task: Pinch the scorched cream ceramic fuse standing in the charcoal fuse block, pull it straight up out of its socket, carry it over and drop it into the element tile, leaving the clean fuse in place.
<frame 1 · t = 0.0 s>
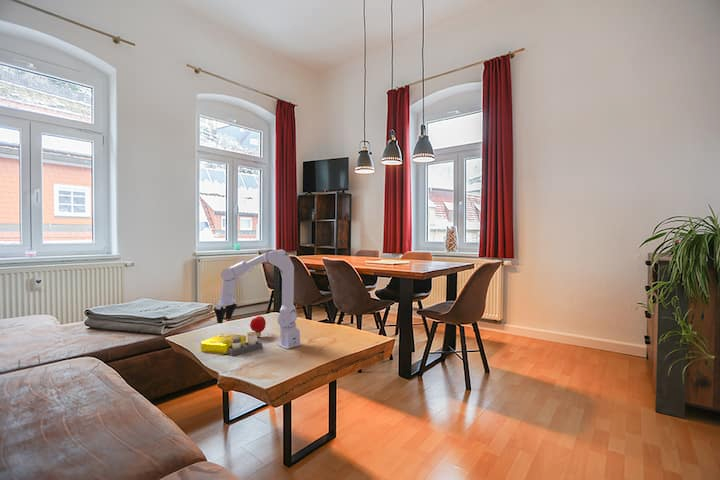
hand: (224, 320, 169), 11 cm above the table, tool pointing down, fingers open, 7 cm apart
light bulb: (258, 337, 177), on the table
element tile: (224, 348, 163), on the table
blown fuse: (236, 352, 156), resting in fuse block
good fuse: (252, 348, 160), resting in fuse block
fuse block: (244, 350, 158), on the table
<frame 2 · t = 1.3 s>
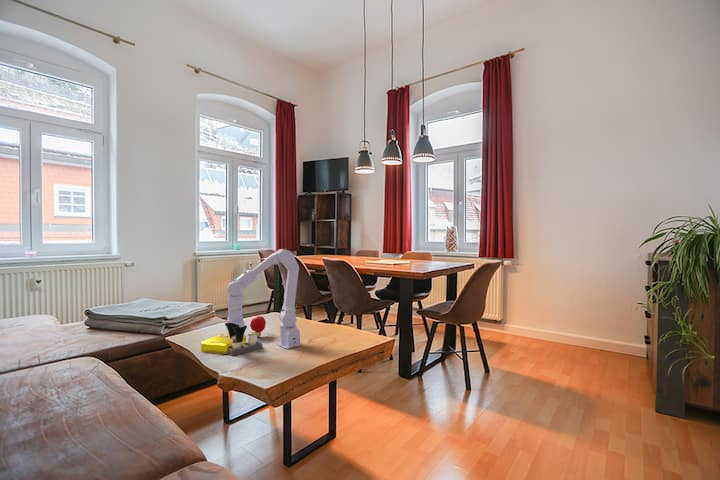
hand: (236, 340, 155), 5 cm above the table, tool pointing down, fingers open, 7 cm apart
nothing on the table moved.
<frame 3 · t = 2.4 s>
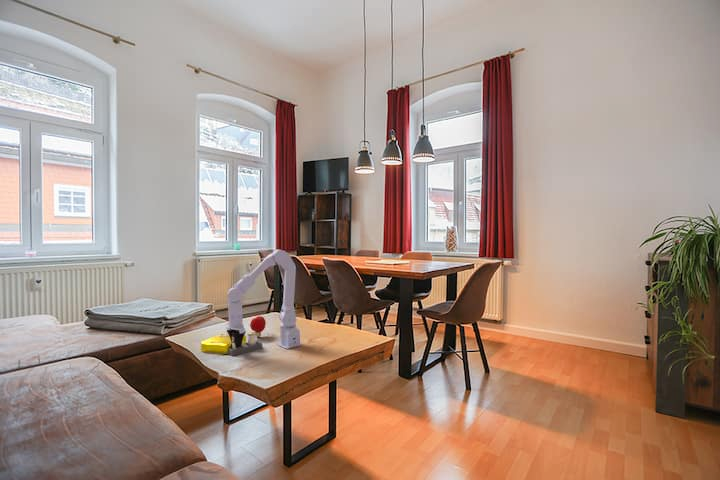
hand: (236, 346, 156), 3 cm above the table, tool pointing down, fingers closed on blown fuse, 4 cm apart
blown fuse: (236, 352, 156), resting in fuse block, touching gripper
everything else where it was.
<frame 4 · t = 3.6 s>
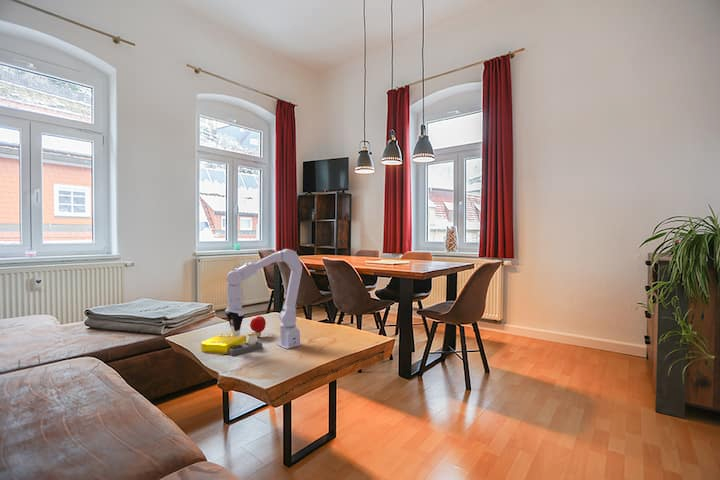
hand: (235, 329, 156), 10 cm above the table, tool pointing down, fingers closed on blown fuse, 4 cm apart
blown fuse: (235, 335, 156), point 7 cm above the table, touching gripper
everything else where it was.
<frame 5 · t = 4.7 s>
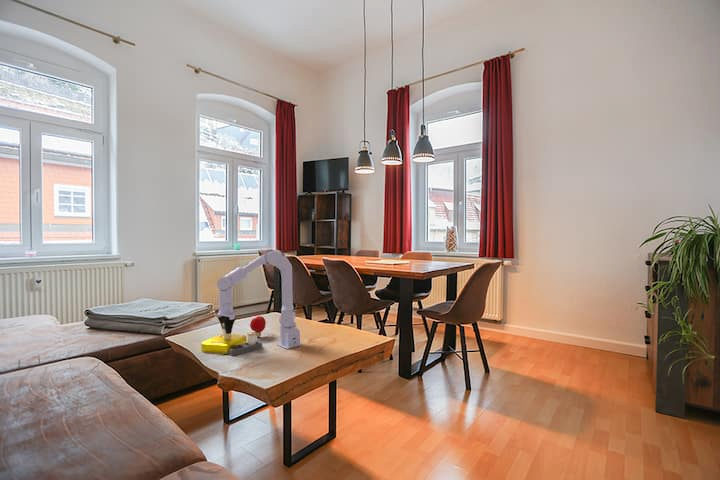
hand: (227, 332, 162), 7 cm above the table, tool pointing down, fingers closed on blown fuse, 4 cm apart
element tile: (224, 348, 163), on the table, touching blown fuse
blown fuse: (227, 338, 162), point 4 cm above the table, touching element tile, gripper
everything else where it was.
when the fingers open (6 cm above the table, at t = 5.2 s): blown fuse stays where it is, resting on element tile.
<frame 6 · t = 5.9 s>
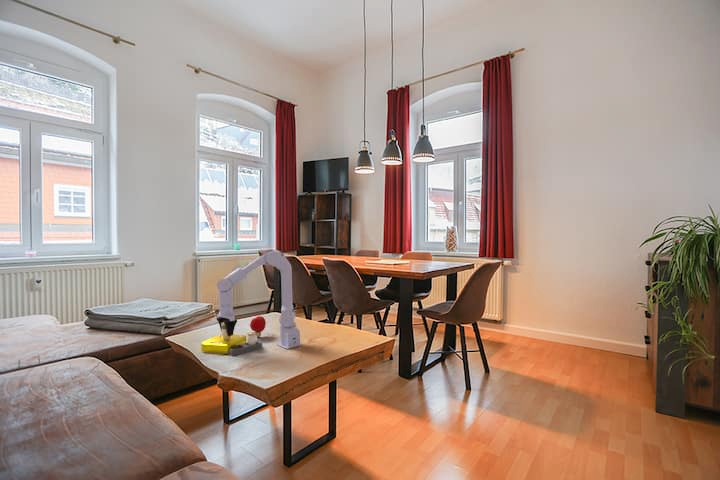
hand: (227, 333, 162), 6 cm above the table, tool pointing down, fingers open, 7 cm apart
blown fuse: (226, 338, 162), point 4 cm above the table, touching element tile
everything else where it was.
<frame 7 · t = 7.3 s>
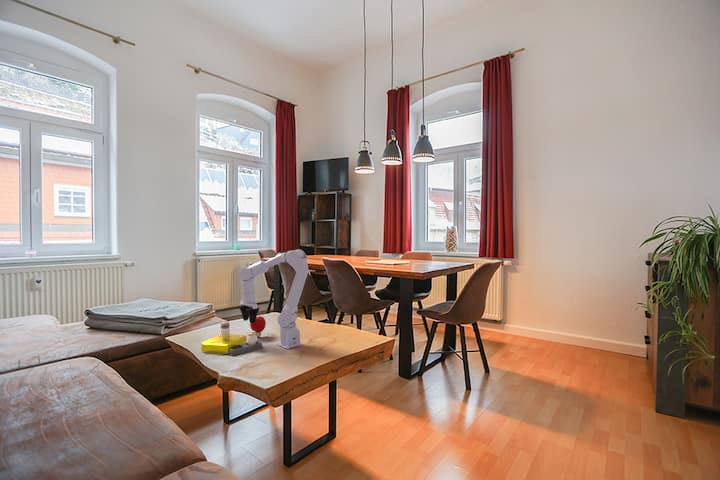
hand: (249, 321, 168), 10 cm above the table, tool pointing down, fingers open, 7 cm apart
element tile: (224, 348, 163), on the table, touching blown fuse, fuse block
everything else where it was.
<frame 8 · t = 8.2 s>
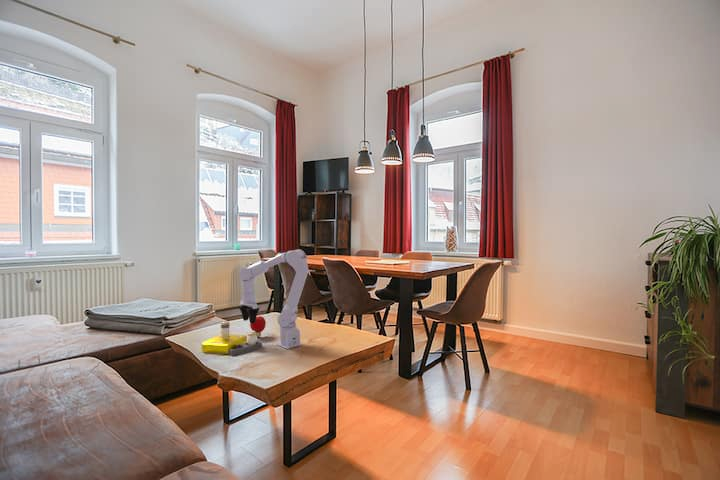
hand: (249, 321, 168), 10 cm above the table, tool pointing down, fingers open, 7 cm apart
element tile: (225, 348, 162), on the table, touching fuse block
blown fuse: (225, 337, 162), point 4 cm above the table, tilted 5°
everything else where it was.
at the end: blown fuse inside the target area (1.0 cm from its centre), point 4.5 cm above the table; the gripper is holding nothing; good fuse moved 0.0 cm from its start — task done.
